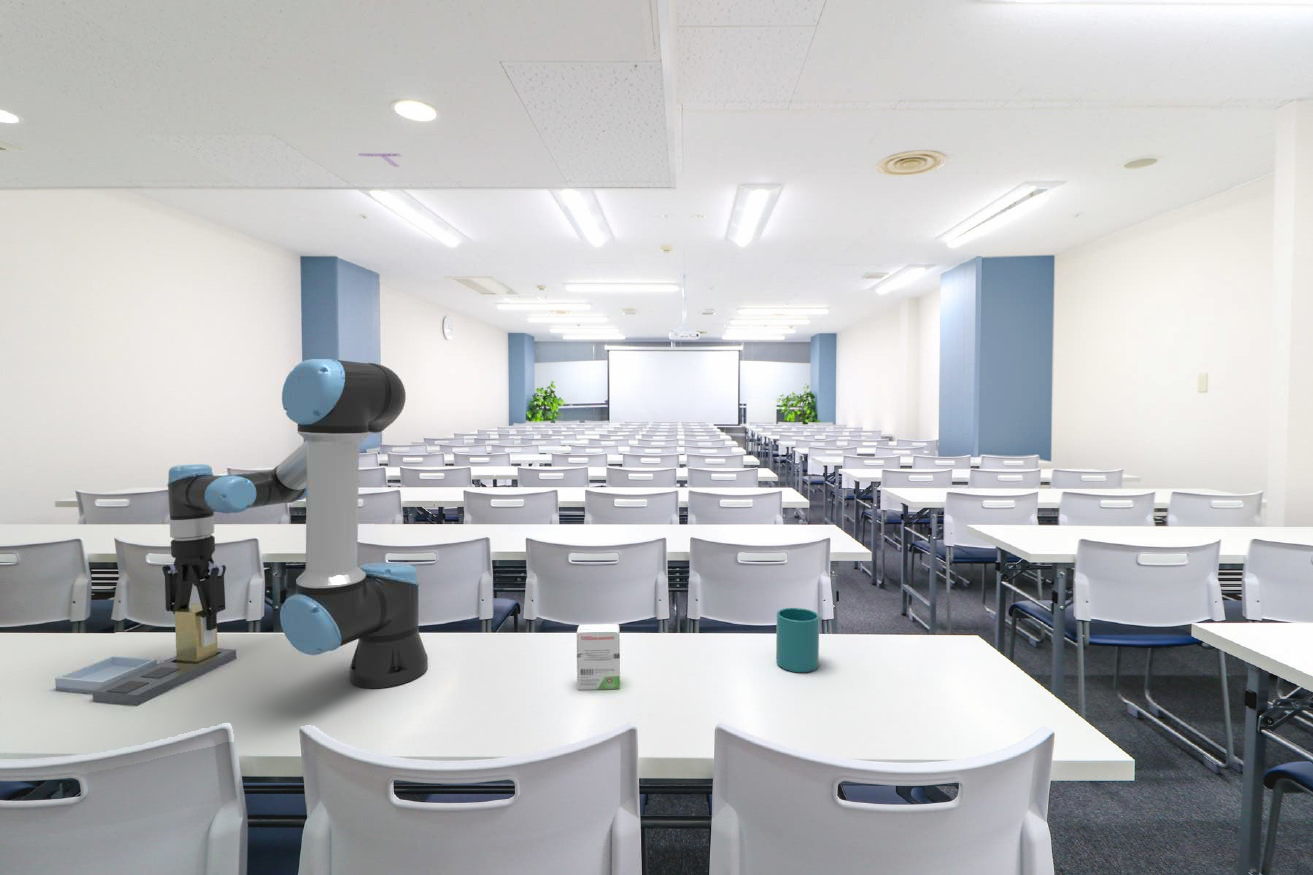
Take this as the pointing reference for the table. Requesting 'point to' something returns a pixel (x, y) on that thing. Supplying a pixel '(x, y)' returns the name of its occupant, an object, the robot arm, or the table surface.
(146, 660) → the tray
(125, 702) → the grey slotted plate
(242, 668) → the table surface
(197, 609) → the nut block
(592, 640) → the ink box
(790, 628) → the cup
